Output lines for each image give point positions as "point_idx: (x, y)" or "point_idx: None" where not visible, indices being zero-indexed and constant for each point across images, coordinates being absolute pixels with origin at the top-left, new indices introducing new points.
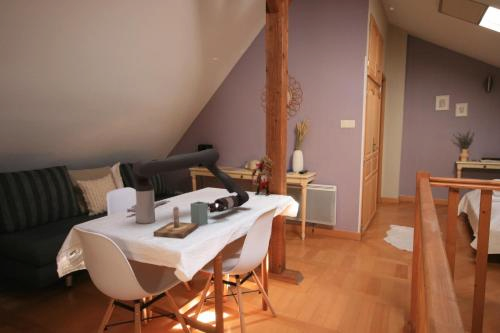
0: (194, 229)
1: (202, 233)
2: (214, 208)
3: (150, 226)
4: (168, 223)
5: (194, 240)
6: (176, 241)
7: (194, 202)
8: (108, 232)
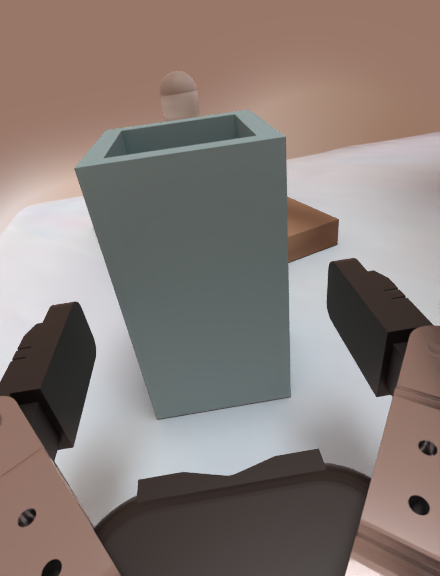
0: None
1: (40, 285)
2: (26, 375)
3: (395, 198)
4: (309, 207)
5: (30, 241)
6: None
7: (260, 120)
8: (398, 144)
